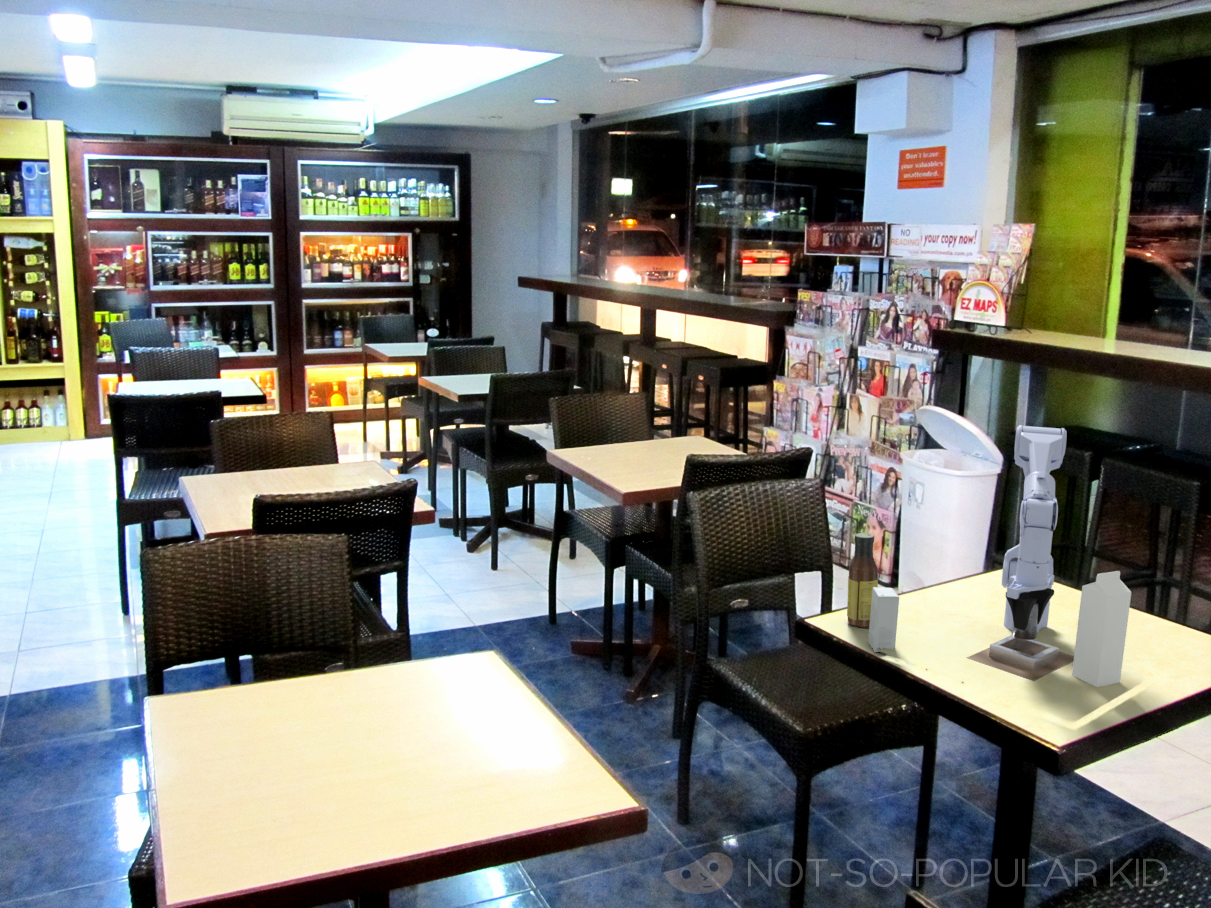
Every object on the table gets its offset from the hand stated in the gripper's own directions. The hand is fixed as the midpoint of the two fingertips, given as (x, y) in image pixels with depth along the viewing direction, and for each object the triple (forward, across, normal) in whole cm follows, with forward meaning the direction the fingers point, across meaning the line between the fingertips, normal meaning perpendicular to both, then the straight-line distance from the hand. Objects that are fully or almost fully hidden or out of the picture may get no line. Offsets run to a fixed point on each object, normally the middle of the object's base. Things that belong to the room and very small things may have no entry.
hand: (1026, 625), depth 208 cm
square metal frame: (+7, 0, 0) cm, 7 cm away
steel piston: (+2, 0, 0) cm, 2 cm away
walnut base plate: (+8, 0, 0) cm, 8 cm away
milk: (+8, -2, +14) cm, 16 cm away
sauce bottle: (+8, +8, -33) cm, 35 cm away
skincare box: (+8, +16, -22) cm, 28 cm away
